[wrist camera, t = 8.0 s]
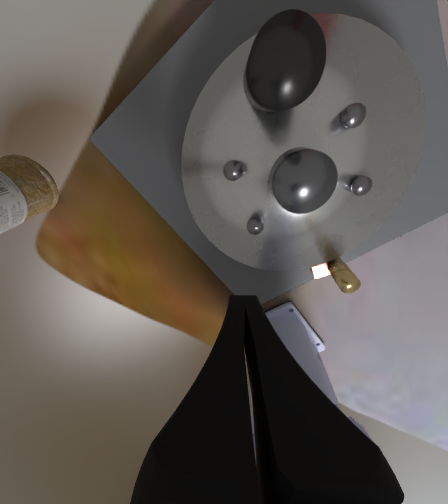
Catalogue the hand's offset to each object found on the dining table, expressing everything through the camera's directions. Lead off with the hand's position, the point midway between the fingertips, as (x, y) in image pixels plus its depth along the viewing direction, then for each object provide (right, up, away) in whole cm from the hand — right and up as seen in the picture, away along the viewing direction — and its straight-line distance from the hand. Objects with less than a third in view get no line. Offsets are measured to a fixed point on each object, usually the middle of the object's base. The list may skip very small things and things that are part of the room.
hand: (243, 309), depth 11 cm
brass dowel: (+8, +3, +9) cm, 13 cm away
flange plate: (+4, +8, +4) cm, 10 cm away
